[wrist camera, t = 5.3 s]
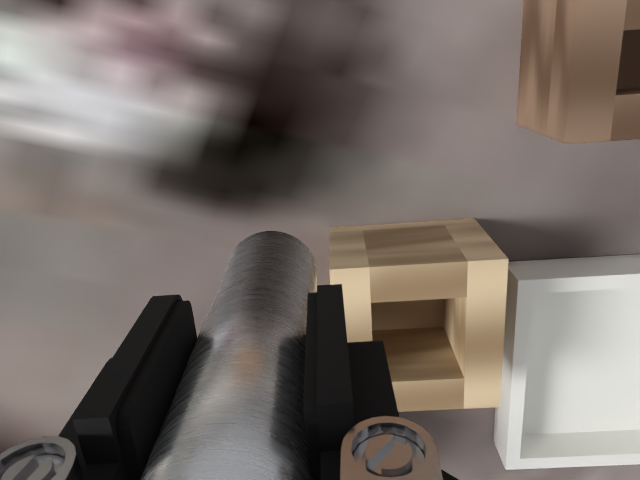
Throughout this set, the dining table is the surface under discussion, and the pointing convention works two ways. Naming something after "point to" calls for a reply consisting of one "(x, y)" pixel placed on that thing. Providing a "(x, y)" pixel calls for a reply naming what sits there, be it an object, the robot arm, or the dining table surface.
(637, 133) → the walnut block
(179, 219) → the dining table surface
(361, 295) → the oak block
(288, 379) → the steel pin
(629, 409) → the tray
